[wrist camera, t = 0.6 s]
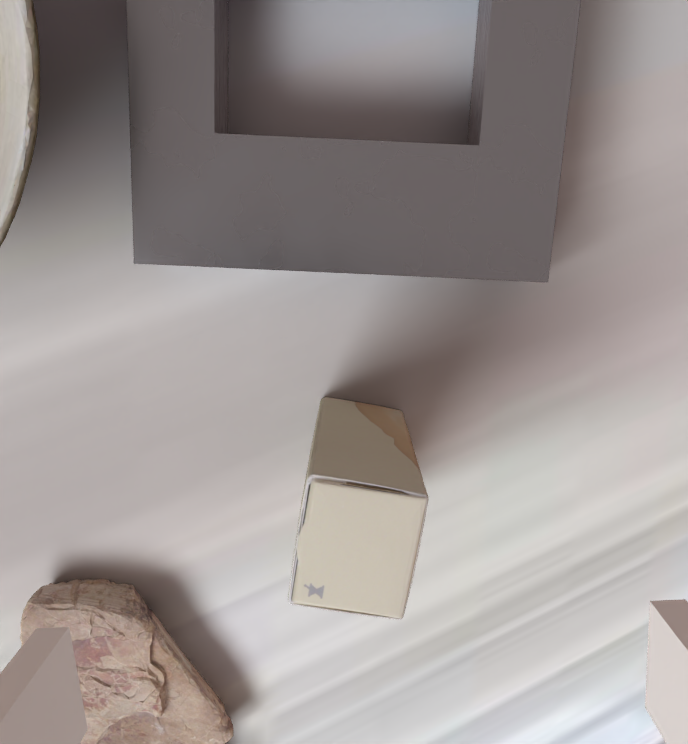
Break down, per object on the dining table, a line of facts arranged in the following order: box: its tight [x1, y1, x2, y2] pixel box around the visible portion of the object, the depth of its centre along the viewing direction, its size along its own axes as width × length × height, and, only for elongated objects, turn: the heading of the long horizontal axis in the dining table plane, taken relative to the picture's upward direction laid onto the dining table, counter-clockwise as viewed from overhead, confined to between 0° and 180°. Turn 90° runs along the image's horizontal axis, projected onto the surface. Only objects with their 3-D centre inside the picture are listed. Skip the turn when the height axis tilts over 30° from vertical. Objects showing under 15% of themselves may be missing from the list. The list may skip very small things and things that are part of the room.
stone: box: [20, 579, 233, 744], centre depth 35 cm, size 12×12×3 cm
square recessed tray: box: [126, 0, 581, 282], centre depth 27 cm, size 18×18×3 cm
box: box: [288, 397, 428, 620], centre depth 28 cm, size 5×4×11 cm
